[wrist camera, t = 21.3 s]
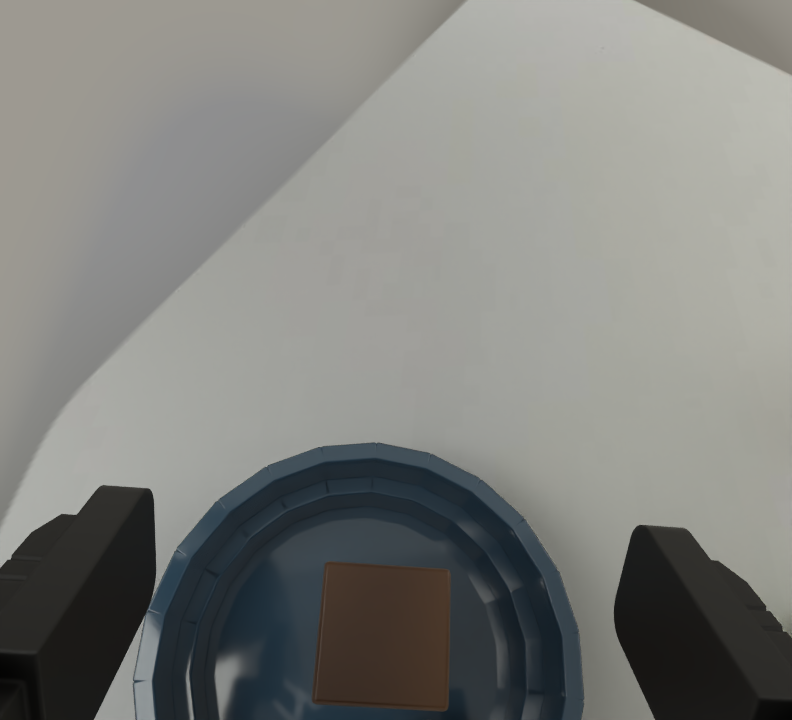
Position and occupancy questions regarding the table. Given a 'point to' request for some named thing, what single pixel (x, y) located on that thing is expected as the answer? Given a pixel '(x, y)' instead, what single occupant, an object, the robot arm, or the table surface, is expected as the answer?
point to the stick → (383, 637)
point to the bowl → (357, 543)
